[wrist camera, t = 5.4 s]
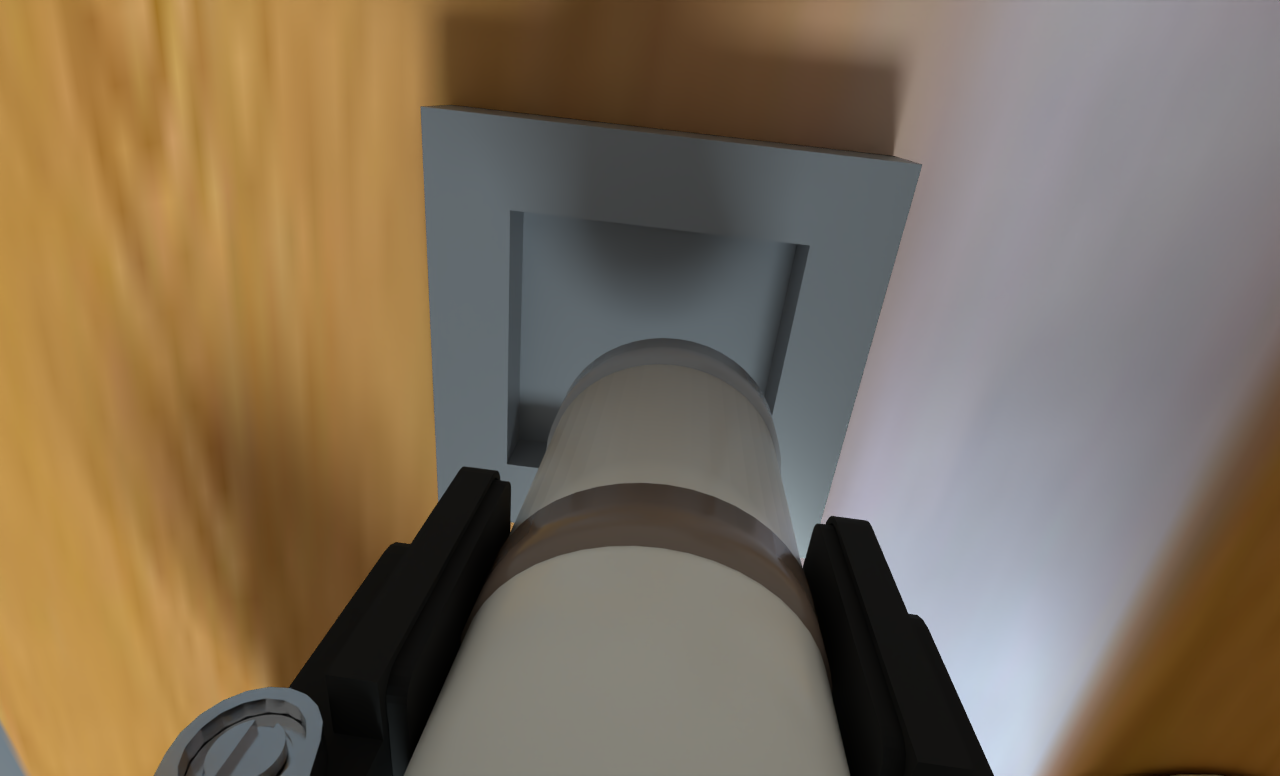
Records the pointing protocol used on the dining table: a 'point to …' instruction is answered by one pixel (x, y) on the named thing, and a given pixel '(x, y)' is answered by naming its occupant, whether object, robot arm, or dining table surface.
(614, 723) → the cylinder
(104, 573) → the dining table surface
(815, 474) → the socket
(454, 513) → the robot arm
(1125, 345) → the dining table surface
